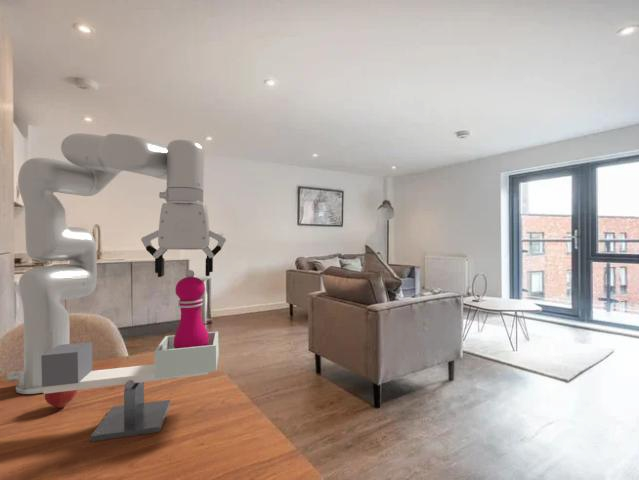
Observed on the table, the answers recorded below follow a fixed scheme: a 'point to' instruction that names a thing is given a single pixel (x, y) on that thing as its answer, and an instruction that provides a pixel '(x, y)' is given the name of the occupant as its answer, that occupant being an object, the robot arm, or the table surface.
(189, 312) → the pepper mill
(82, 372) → the beam
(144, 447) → the table surface
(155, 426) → the stand
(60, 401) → the onion
